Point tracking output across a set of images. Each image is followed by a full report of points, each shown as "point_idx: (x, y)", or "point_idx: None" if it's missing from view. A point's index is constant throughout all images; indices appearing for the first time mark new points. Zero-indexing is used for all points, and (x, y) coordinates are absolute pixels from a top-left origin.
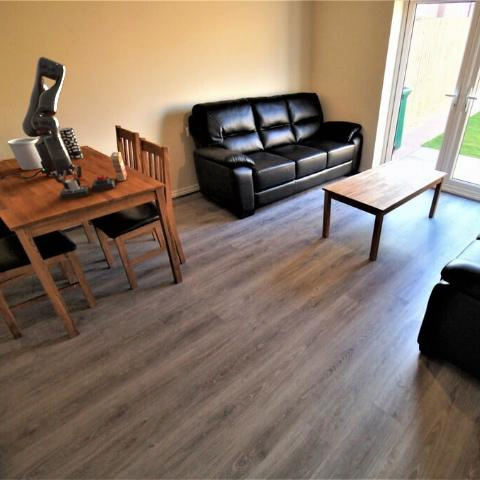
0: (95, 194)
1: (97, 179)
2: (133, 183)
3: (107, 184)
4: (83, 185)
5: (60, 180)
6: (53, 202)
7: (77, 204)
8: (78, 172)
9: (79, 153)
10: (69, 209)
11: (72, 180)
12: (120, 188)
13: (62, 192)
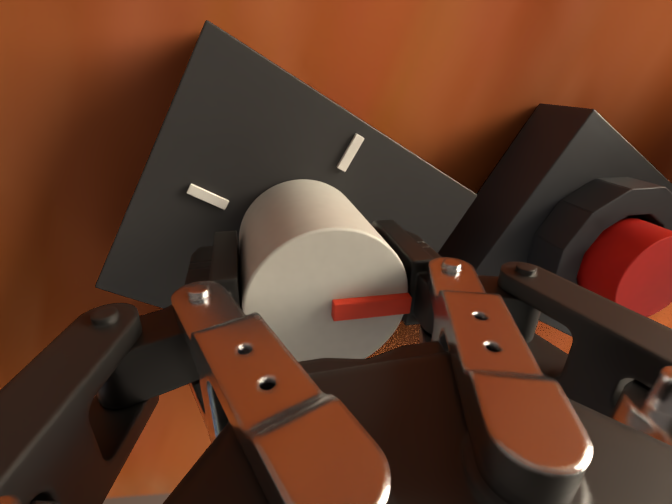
0: (398, 333)
1: (600, 228)
2: (659, 311)
3: (554, 326)
4: (435, 178)
5: (152, 385)
6: (12, 253)
7: (207, 437)
8: (560, 382)
9: None
10: (126, 488)
11: (356, 312)
12: (559, 341)
13: (148, 226)
